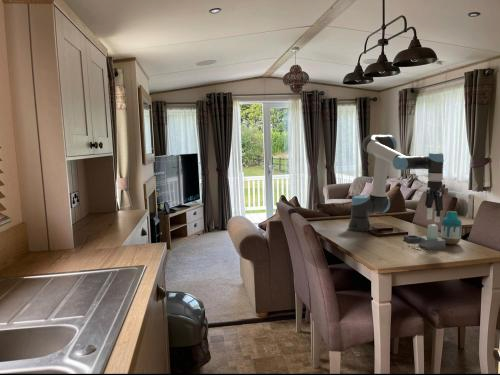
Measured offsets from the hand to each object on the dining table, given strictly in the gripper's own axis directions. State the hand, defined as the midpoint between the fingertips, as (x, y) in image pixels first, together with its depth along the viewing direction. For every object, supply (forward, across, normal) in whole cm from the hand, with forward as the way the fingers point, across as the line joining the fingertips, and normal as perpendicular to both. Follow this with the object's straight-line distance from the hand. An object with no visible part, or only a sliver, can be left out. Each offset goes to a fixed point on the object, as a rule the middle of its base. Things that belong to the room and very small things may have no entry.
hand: (433, 220), depth 220 cm
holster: (+15, -14, -5) cm, 21 cm away
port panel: (+15, 0, 0) cm, 15 cm away
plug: (+15, 0, 0) cm, 15 cm away
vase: (+15, -6, +14) cm, 22 cm away
